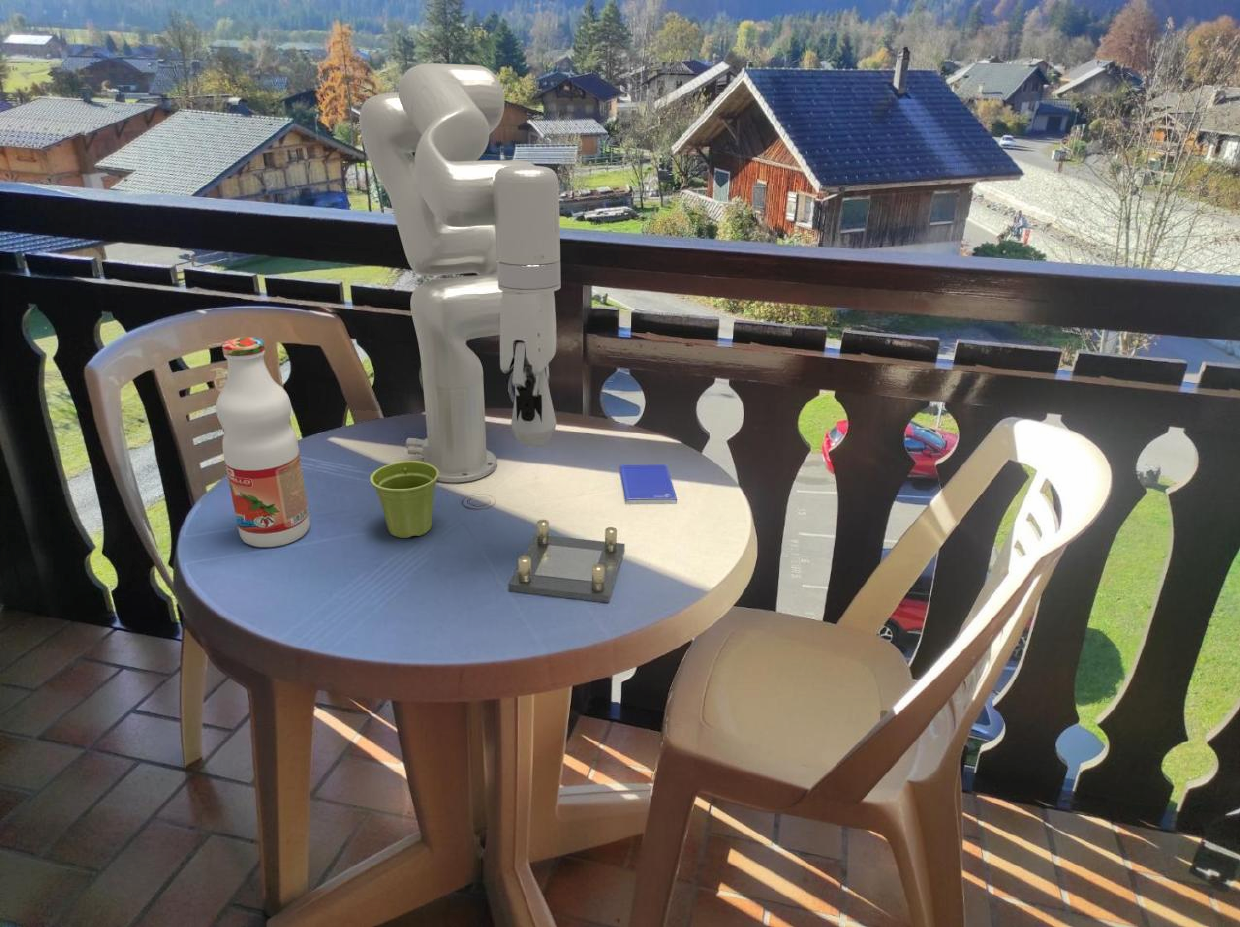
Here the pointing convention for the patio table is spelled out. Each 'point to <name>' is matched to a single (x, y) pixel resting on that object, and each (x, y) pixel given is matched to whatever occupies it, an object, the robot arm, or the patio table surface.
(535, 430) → the salt shaker
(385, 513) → the plant pot
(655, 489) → the hard drive
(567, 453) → the patio table surface
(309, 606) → the patio table surface
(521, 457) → the patio table surface
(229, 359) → the fruit juice
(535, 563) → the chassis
